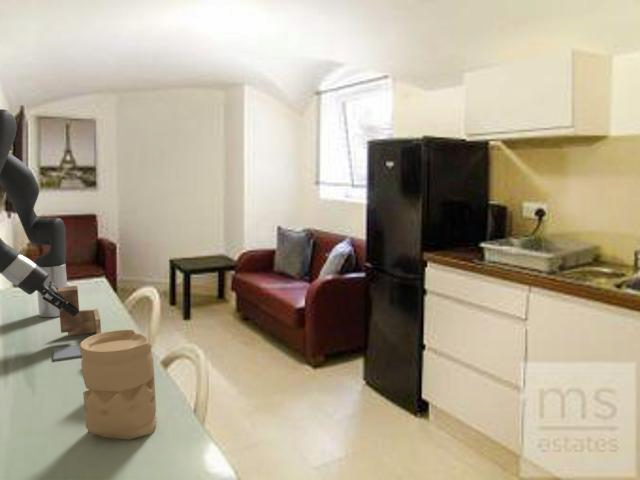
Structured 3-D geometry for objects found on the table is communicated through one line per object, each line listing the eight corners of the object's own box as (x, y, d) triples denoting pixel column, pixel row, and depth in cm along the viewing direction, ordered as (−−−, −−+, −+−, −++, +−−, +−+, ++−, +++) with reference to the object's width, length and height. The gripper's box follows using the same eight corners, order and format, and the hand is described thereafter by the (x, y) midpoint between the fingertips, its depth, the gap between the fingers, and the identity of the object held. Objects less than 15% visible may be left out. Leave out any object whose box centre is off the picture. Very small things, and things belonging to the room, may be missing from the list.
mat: (54, 350, 142) (53, 348, 142) (89, 345, 146) (89, 343, 146) (53, 361, 134) (53, 359, 134) (91, 355, 138) (91, 353, 138)
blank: (61, 333, 145) (57, 291, 143) (61, 327, 149) (58, 287, 147) (80, 330, 147) (77, 289, 145) (80, 325, 151) (77, 285, 150)
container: (141, 408, 107) (136, 325, 105) (167, 431, 98) (163, 340, 95) (77, 429, 99) (70, 338, 96) (99, 456, 90) (92, 357, 87)
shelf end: (68, 347, 144) (66, 323, 143) (67, 334, 156) (66, 311, 155) (101, 342, 148) (100, 319, 147) (99, 330, 159) (97, 308, 158)
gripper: (33, 268, 135) (87, 307, 142) (36, 259, 148) (85, 295, 155) (12, 290, 134) (67, 328, 141) (17, 279, 147) (67, 314, 154)
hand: (76, 310), depth 148 cm, fingers closed on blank, 5 cm apart
